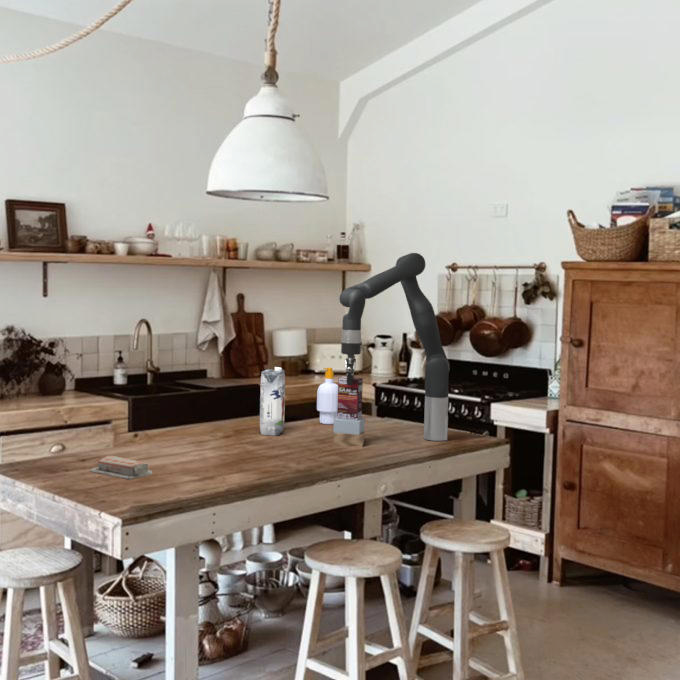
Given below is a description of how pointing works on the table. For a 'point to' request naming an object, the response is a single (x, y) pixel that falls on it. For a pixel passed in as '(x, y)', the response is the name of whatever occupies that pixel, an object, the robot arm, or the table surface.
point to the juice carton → (272, 401)
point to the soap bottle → (327, 399)
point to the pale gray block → (349, 426)
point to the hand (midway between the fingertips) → (350, 383)
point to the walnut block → (349, 439)
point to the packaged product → (122, 467)
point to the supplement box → (349, 399)
